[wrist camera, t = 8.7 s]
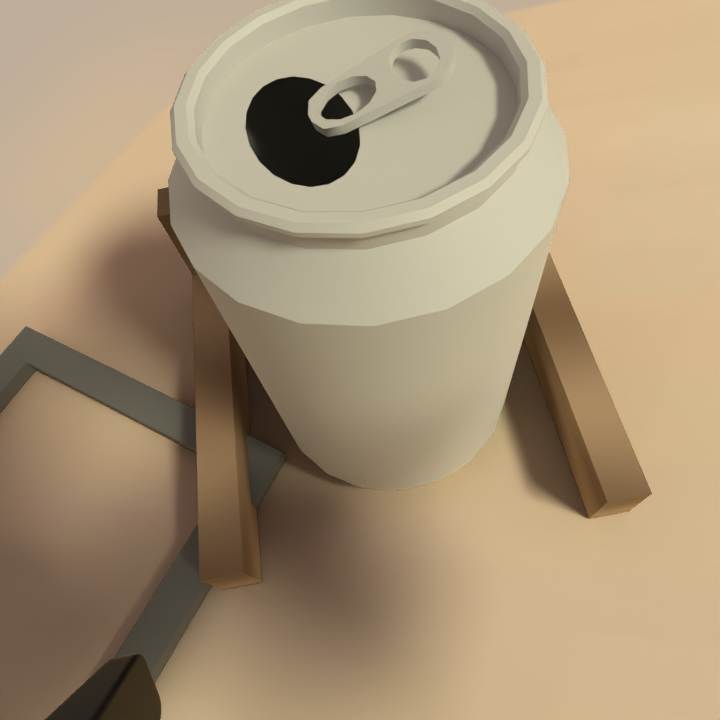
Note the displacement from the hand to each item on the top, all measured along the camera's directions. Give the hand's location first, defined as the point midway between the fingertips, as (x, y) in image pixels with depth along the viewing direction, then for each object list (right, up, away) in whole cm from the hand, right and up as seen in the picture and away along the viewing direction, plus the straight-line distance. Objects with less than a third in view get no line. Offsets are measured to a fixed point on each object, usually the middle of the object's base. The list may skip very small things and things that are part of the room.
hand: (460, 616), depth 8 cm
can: (0, +2, +12) cm, 12 cm away
